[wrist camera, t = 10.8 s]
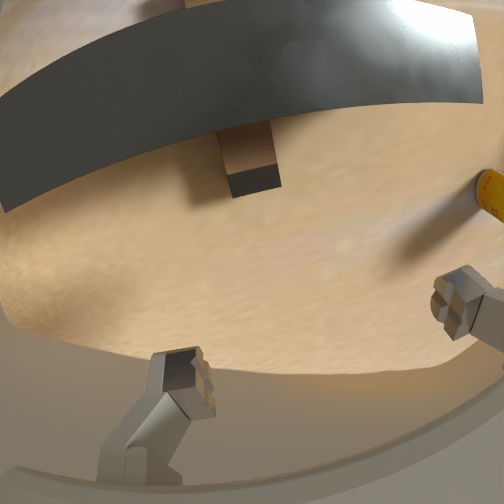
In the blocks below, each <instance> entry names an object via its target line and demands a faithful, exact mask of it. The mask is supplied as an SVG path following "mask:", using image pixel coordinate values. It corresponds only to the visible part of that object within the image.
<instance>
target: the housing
mask: <svg viewBox="0 0 504 504" xmlns="http://www.w3.org/2000/svg"><path fill="white" fill-rule="evenodd" d="M421 102H453V103H478V104H483V91H482V79H481V69H480V61H479V53H478V47H477V41H476V35H475V30H474V25H473V21H472V16H470V15H467V14H464V13H460V12H457V11H454V10H450V9H446V8H443V7H439V6H435V5H430V4H426V3H421V2H417V1H412V0H222V1H217V2H212V3H207V4H203V5H198V6H194V7H190V8H186V9H182V10H178V11H175V12H171V13H168V14H164V15H161V16H158V17H155V18H152V19H149V20H146V21H143V22H140V23H137V24H134V25H132V26H129V27H126V28H124V29H121V30H119V31H116V32H114V33H111V34H109V35H107V36H104V37H102V38H100V39H98V40H95V41H93V42H91V43H89V44H87V45H85V46H83V47H81V48H79V49H77V50H75V51H73V52H71V53H69V54H67V55H65V56H63V57H62V58H60V59H58V60H56V61H54V62H53V63H51V64H49V65H48V66H46V67H44V68H43V69H41V70H39V71H38V72H36V73H34V74H33V75H31V76H30V77H28V78H27V79H25V80H24V81H22V82H21V83H19V84H18V85H16V86H15V87H14V88H12V89H11V90H9V91H8V92H7V93H5V94H4V95H3V96H1V97H0V202H1V204H2V207H3V209H4V211H5V213H7V212H8V211H10V210H12V209H14V208H16V207H18V206H20V205H22V204H23V203H25V202H27V201H29V200H31V199H33V198H35V197H37V196H39V195H41V194H43V193H46V192H48V191H50V190H52V189H54V188H56V187H58V186H61V185H63V184H65V183H67V182H69V181H72V180H74V179H76V178H79V177H81V176H83V175H86V174H88V173H91V172H93V171H96V170H98V169H101V168H103V167H106V166H108V165H111V164H114V163H116V162H119V161H122V160H124V159H127V158H130V157H133V156H136V155H138V154H141V153H144V152H147V151H150V150H153V149H156V148H160V147H163V146H166V145H169V144H172V143H176V142H179V141H182V140H186V139H189V138H193V137H197V136H200V135H204V134H208V133H211V132H215V131H219V130H223V129H227V128H232V127H236V126H240V125H245V124H249V123H254V122H259V121H263V120H268V119H274V118H279V117H284V116H290V115H296V114H302V113H309V112H315V111H322V110H330V109H338V108H346V107H356V106H367V105H379V104H395V103H421Z"/></svg>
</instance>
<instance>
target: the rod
mask: <svg viewBox="0 0 504 504" xmlns="http://www.w3.org/2000/svg"><path fill="white" fill-rule="evenodd" d="M217 1H222V0H184V2H185V6H186V8H190V7H194V6H198V5H203V4H207V3H212V2H217ZM216 133H217V137H218V141H219V145H220V149H221V153H222V157H223V161H224V165H225V169H226V173H227V177H228V181H229V185H230V189H231V193H232V197H233V198H236V197H240V196H244V195H248V194H253V193H257V192H261V191H265V190H269V189H274V188H278V187H282V186H281V180H280V175H279V169H278V164H277V158H276V153H275V148H274V143H273V137H272V132H271V127H270V122H269V119H268V120H263V121H259V122H254V123H249V124H245V125H240V126H236V127H232V128H227V129H223V130H219V131H216Z"/></svg>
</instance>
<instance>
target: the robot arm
mask: <svg viewBox="0 0 504 504" xmlns="http://www.w3.org/2000/svg"><path fill="white" fill-rule="evenodd" d="M433 287H434V288H435V292H434V293H433V295H432V296H431V302H430V306H431V311H432V313H433V315H434V317H435V318H436V320H437V321H439V322H441V323H444V330H445V331H446V332H447V334H448V335H449V336H450V338H451V339H452V340H453V341H455V340H457V339H459V338H461V337H463V336H465V335H467V334H469V333H470V334H471V335H472V336H474V337H476V338H478V339H480V340H481V341H483V342H485V343H487V344H489V345H490V346H492V347H494V348H496V349H498V350H499V351H501V352H503V353H504V289H501V288H498V287H497V288H494V287H493V286H492V285H491V284H490V283H489V282H488V281H487V280H486V279H485V278H484V277H483V276H481V275H480V274H479V273H478V272H477V271H476V270H475V269H474V268H473V267H471V266H469V265H465V266H463V267H461V268H458V269H456V270H453V271H451V272H448V273H446V274H444V275H441V276H439V277H437V278H436V279H435V281H434V286H433ZM502 368H503V369H504V362H503V364H502ZM213 390H214V380H213V375H212V371H211V368H210V366H209V364H208V362H207V361H205V360H203V352H202V350H201V349H200V347H199V346H194V347H188V348H182V349H176V350H169V351H164V352H157V353H153V355H152V357H151V362H150V368H149V375H148V383H147V390H146V394H144V395H141V397H140V398H139V399H138V400H137V401H136V403H135V404H134V405H133V406H132V408H131V409H130V410H129V412H128V413H127V414H126V415H125V416H124V417H123V419H122V420H121V421H120V423H119V424H118V425H117V426H116V427H115V429H114V430H113V431H112V432H111V433H110V435H109V436H108V437H107V438H106V440H105V441H104V442H103V443H102V445H101V449H100V455H99V462H98V470H97V478H96V481H90V480H84V479H77V478H71V477H66V476H60V475H55V474H51V473H47V472H42V471H38V470H35V469H31V468H27V467H24V466H20V465H12V466H10V467H9V468H8V469H6V470H5V471H4V472H3V473H2V474H1V475H0V504H504V376H503V377H502V378H500V379H499V380H498V381H496V382H495V383H493V384H492V385H490V386H489V387H488V388H486V389H484V390H483V391H481V392H480V393H478V394H477V395H475V396H474V397H472V398H470V399H469V400H467V401H466V402H464V403H462V404H461V405H459V406H457V407H456V408H454V409H452V410H450V411H448V412H447V413H445V414H443V415H441V416H439V417H437V418H436V419H434V420H432V421H430V422H428V423H426V424H424V425H422V426H420V427H418V428H416V429H414V430H411V431H409V432H407V433H405V434H403V435H400V436H398V437H396V438H393V439H391V440H389V441H386V442H384V443H381V444H379V445H376V446H374V447H371V448H368V449H366V450H363V451H360V452H357V453H354V454H352V455H349V456H345V457H342V458H339V459H336V460H333V461H330V462H326V463H322V464H319V465H315V466H311V467H307V468H303V469H299V470H295V471H291V472H286V473H282V474H276V475H271V476H266V477H260V478H254V479H247V480H240V481H232V482H224V483H212V484H199V485H183V479H182V478H183V477H182V475H181V474H180V473H179V472H177V471H176V470H174V469H173V468H171V467H170V466H168V463H169V462H170V460H171V458H172V456H173V455H174V453H175V451H176V449H177V447H178V446H179V444H180V442H181V440H182V438H183V437H184V435H185V433H186V431H187V429H188V427H189V426H190V424H191V421H194V420H200V419H207V418H213V417H216V409H215V399H214V397H213V396H212V394H211V393H212V391H213Z"/></svg>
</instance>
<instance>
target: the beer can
mask: <svg viewBox="0 0 504 504" xmlns="http://www.w3.org/2000/svg"><path fill="white" fill-rule="evenodd" d="M476 198H477V200H478V204H479V206H480V207H481V208H482V209H484V210H485V211H487V212H488V213H490V214H491V215H493V216H494V217H496V218H497V219H498V220H500V221H501V222H503V223H504V173H503V172H501V171H499V170H497V169H495V168H491V169H489V170H486V171H484V172H483V173H482V174H481V176H480V177H479V179H478V181H477V185H476Z"/></svg>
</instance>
